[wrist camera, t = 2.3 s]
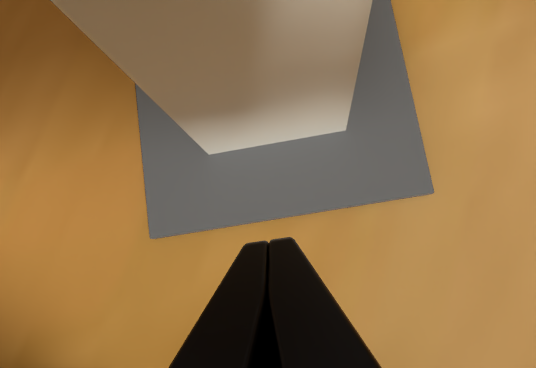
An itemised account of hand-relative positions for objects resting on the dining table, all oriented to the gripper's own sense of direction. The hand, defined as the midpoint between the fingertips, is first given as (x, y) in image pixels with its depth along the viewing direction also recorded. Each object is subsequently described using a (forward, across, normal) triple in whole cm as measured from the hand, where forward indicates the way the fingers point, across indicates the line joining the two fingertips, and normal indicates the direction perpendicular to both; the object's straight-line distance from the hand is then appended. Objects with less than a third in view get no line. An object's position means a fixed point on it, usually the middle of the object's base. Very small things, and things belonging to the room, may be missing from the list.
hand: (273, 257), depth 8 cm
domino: (+11, 0, +3) cm, 12 cm away
